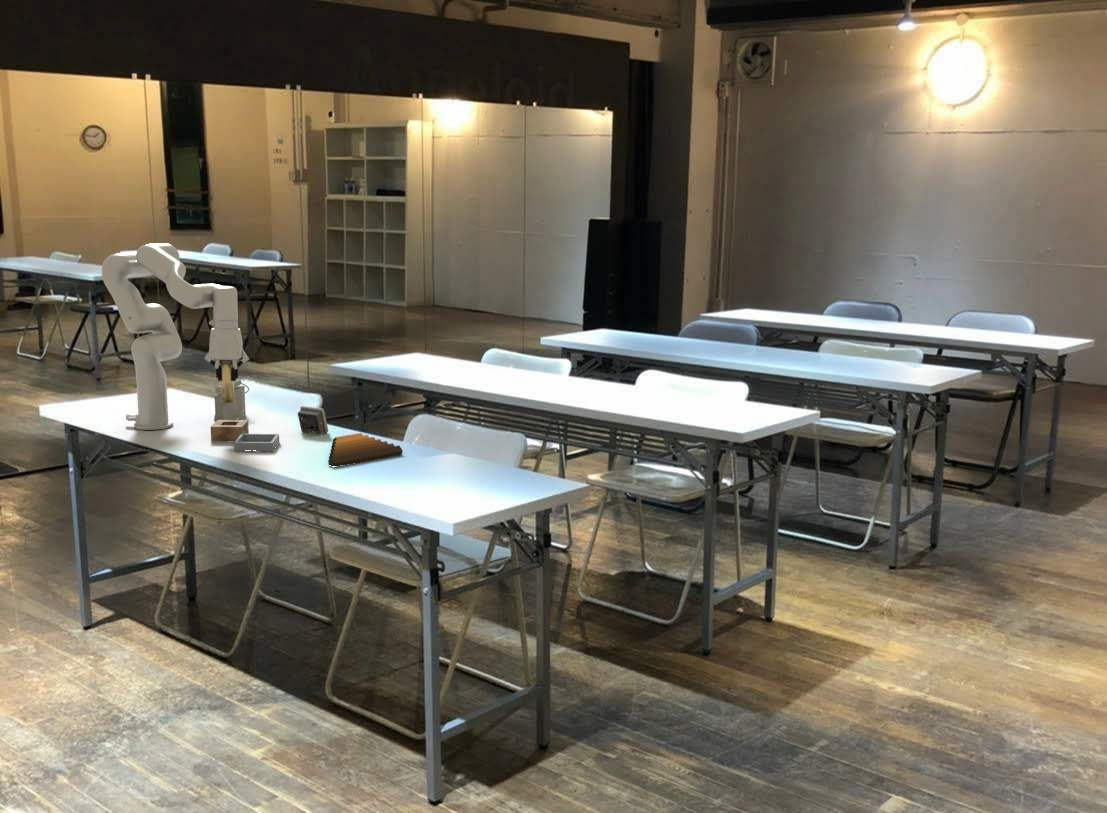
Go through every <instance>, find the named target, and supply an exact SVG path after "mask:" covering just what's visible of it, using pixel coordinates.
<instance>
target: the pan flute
mask: <svg viewBox="0 0 1107 813" xmlns="http://www.w3.org/2000/svg"><path fill="white" fill-rule="evenodd" d="M330 447H331V449H330V452H329V456H328V460H327V463H328V466H329V465H331V466H340V465H346V466H348V465H347V464H351V465H354V464H353V463H356V464H361V463H360V462H362V463H365V462H366V461H367V462H371V461H376V460H377V459H378V460H382V459H388V458H392V457H393V458H394V457H399V456H402V455H403V448H402V447H401V446H400V445H395V444H394V443H389V442H387V440H385V441H382V440H381V439H380V438H378V439H376V438H375V437H374V436H371V437H370V436H369V435H368V434H363V433H362V432H359V433H353V434H348V435H341V436H340V435H339V436H335V437H334V438H333V439H332V443H331V446H330ZM340 467H341V466H340Z"/></svg>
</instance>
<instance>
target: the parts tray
mask: <svg viewBox="0 0 1107 813" xmlns="http://www.w3.org/2000/svg"><path fill="white" fill-rule="evenodd" d="M278 443H279V444H280V433H249V434H241V435H240V436H239V437H238V438H237V439H236V440H235V442H233V452H234V451H245V450H251V451H253V450H256V451H273V450H274V449H275V450H276V448H277V447H278V446H277V445H279V444H278ZM276 446H277V447H276ZM275 447H276V448H275ZM275 450H274V451H275ZM274 451H273V452H274Z"/></svg>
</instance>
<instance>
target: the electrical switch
mask: <svg viewBox="0 0 1107 813" xmlns="http://www.w3.org/2000/svg"><path fill="white" fill-rule="evenodd" d="M297 417H298V422H299V426H300V429H301V430H300V431H301V433H302V432H303V434H310V435H318V436H321V435H323V434H328V433H329V427H328V422H327V417H326V413H325V409H324V408H322V407H321V408H320V407H315V406H314V407H312V406H305V405H304V406H303V405H301V406H300V408H299V411H298V412H297Z"/></svg>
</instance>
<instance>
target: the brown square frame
mask: <svg viewBox="0 0 1107 813" xmlns="http://www.w3.org/2000/svg"><path fill="white" fill-rule="evenodd" d="M249 430H250V429H249V420H247V419H237V420H217V421H216V422H215V421H214V423H213V424H211V426H210V442H211V441H235V440H236V439H237V438H238V437H239V436H240V435H241V434H250V433H249Z"/></svg>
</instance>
